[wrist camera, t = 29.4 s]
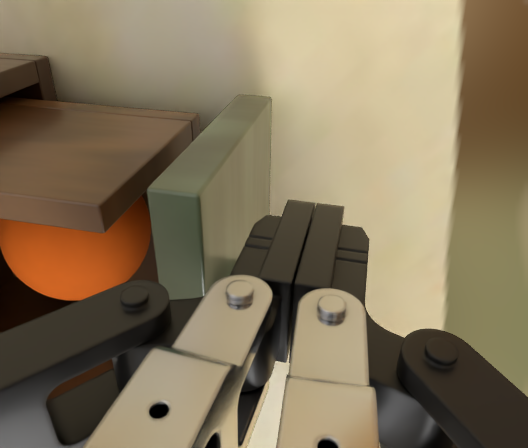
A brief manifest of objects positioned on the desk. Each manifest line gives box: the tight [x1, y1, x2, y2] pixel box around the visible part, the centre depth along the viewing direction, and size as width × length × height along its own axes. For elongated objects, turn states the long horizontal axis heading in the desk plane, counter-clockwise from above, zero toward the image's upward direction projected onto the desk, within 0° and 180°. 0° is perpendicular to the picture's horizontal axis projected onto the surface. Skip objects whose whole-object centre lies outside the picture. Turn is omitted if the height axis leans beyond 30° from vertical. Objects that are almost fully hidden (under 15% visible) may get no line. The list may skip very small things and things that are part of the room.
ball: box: [0, 195, 151, 300], centre depth 16 cm, size 5×5×5 cm
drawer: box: [0, 95, 272, 399], centre depth 17 cm, size 14×10×7 cm
